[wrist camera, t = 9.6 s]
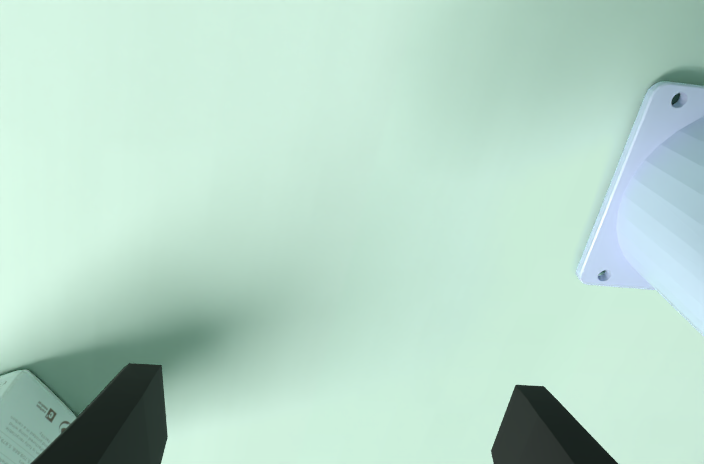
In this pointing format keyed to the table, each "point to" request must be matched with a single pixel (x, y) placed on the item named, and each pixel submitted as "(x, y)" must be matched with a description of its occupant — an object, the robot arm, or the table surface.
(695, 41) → the table surface
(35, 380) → the skincare box
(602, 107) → the table surface
